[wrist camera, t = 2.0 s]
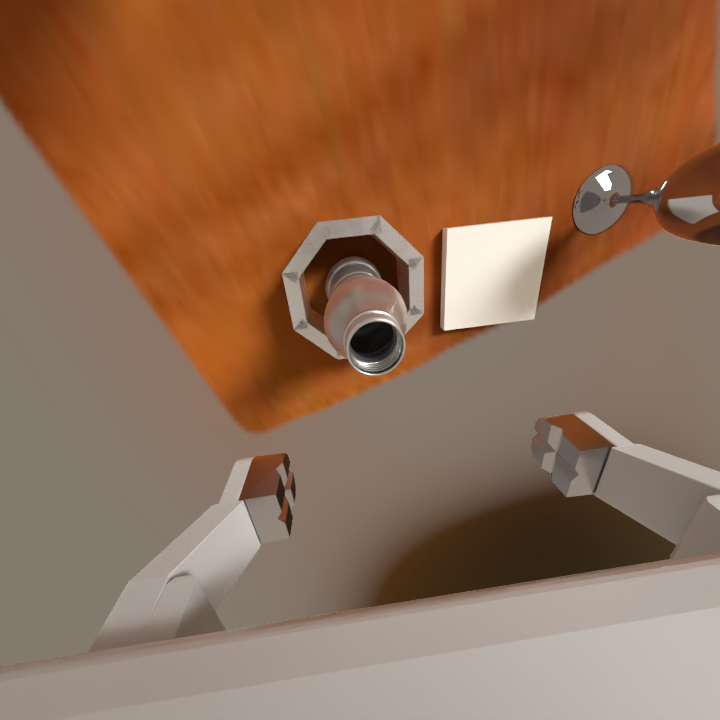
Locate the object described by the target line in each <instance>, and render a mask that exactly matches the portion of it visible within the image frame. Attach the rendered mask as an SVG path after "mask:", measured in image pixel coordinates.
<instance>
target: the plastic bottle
mask: <svg viewBox="0 0 720 720" xmlns="http://www.w3.org/2000/svg"><path fill="white" fill-rule="evenodd" d="M325 285H326V295H327V298H328V300H329V301H328V303H327V306H326V309H325V314H324V329H325V333H326V336H327V338H328V340H329V342H330V344H331V345H332V347H333V348H334V349H335V350H336V351H337V352H338V353H339V354H340V355H341V356H343V357H344V358H346V359H348V361H349V362H350V364H351V365H352V367H353V368H354V369H355V370H356V371H358V372H359V373H361V374H364V375H367V376H381V375H384V374H387V373H389V372H390V371H392V370H393V369H395V368H396V367H397V366H398V365H399V363H400V362H401V360H402V358H403V356H404V353H405V347H406V344H405V338H404V335H405V332H406V326H407V309H406V306H405V302H404V300H403V298H402V296H401V295H400V293H399V292H398V291H397V290H396V289H395V288H394V287H393V286H392V285H390V284H389V283H387V282H386V281H384V280H382V278H381V275H380V273H379V271H378V269H377V268H376V266H375V265H374V264H373V263H372V262H370V261H369V260H367V259H365V258H362V257H358V256H351V257H346V258H344V259H342V260H340V261H339V262H337V263H336V264H335V265H334V266H333V267H332V268H331V270H330V271H329V273H328V276H327V279H326V284H325Z"/></svg>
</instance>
